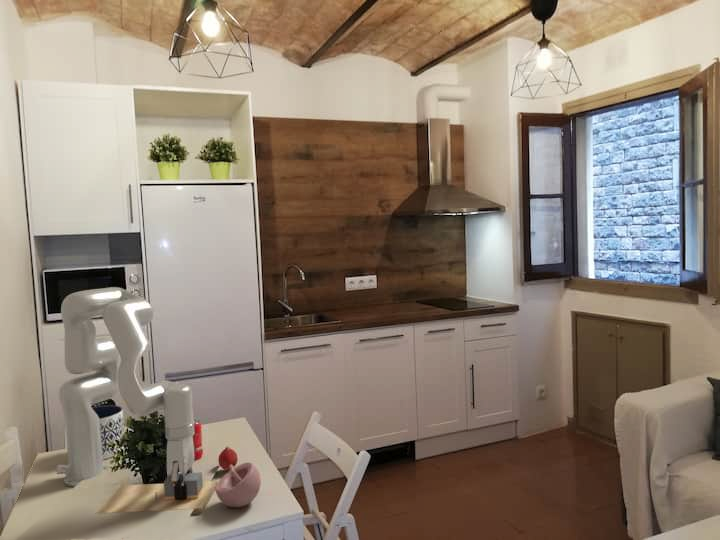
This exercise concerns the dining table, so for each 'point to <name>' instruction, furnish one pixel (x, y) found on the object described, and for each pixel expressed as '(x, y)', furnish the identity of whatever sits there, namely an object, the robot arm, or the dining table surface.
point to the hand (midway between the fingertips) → (184, 493)
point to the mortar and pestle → (239, 485)
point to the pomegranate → (227, 458)
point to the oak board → (154, 499)
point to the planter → (110, 427)
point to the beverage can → (197, 440)
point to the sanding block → (192, 486)
